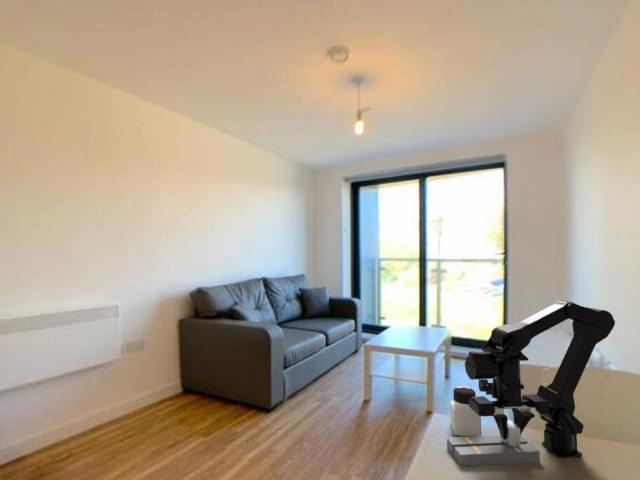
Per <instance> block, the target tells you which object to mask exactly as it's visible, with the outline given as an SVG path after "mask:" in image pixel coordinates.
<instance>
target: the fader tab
mask: <svg viewBox="0 0 640 480" xmlns="http://www.w3.org/2000/svg"><path fill="white" fill-rule="evenodd" d="M499 436H500V438H501V439H502V440H503V441H504V445H508V446H521V439H520V428H519V427H518V426H517V425H516V424H514V421H512V420H507V436H506V440H504V439H503V438H502V436H501V434H500V433H499Z"/></svg>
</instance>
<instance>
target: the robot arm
mask: <svg viewBox="0 0 640 480" xmlns="http://www.w3.org/2000/svg"><path fill="white" fill-rule="evenodd" d="M568 319H569V320H571V321H572V323H571V324H572V325H571V326H572V332H573V336H572V339H571V341H570V343H569V345H568V348H567V350H566V352H565V353H564V356H563V358H562V360H561V363H560V364H559V367H558V368H557V371H556V373H555V375H554V377H553V380H552V382H551V383H550V384H548V385H546V386H544V385H543V384H540V385H539V386H538V388H537V389H538V390H537V392H536V394H535V393H534V394H523V395H522V390H525V384H523V383H522V382H521V381H522V380H521V379H522V378H521V361H522V362H525V361H529V358H528V357H527V356H526V355H525V354H524V353H523V352H522V351H523V350H524V349H525V348H527V347H528V346H529V345H530V343H531V340H533V339H534V338H535V337H536V336H538V335H541V334H542V333H544V332H546V331H548V330H550V329H552V328H554V327H556V326H557V325H559V324H561V323H563V322H566V321H567V320H568ZM615 324H616V320H615V318H614V316H613V315H612V313H611V312H609V311H608V310H605V309H599V308H594V307H588V306H582V305H580V304H578V303H574V302H572V301H568V300H562V299H561V300H557V301H555V302H554V303H553V304H551V305H550V306H547V307H545V308H543V309H542V310H540V311H538V312H535V314H532V315H530V316H529V317H527V318H524V319H523V320H520V321H517V322H513V323H512V322H511V323H506V324H503V325H499V326H496V327H494V328H493V329H492V330H491V334H490V337H489V338H488V340H487V341H486V343H484V346H483V347H482V349H481V351H468V356H467V357H466V359H465V362H464V369H465V372H466V374H467V377H468V378H469V379H470V380H473V381H474V380H478V390H479V392H483V393H485V394H486V396H490V395H491V398H493V399H496V400H490V399H488V398H487V397H485V396H481V395H480V396H476V397H471V398H470V400H469V407H470V408H471V409H472V410H473V411H475V412H476V413H477V414H478V415H479V416H481V417H493V419H494V421H495V423H496V425H497V429H498V430H499V435H500V434H501V436H502V438H503V439H504V440H506V436H507V421H508V415H506V414H504V413H505V412H504V410H507V409H509V410H510V409H511V411H512V413H513V423H514V424H516V425H517V426H518V427H519V428H520V435H521V436H522V434H523V432H524V429H526V427H527V425H528V424H529V423H530V421H531V420H532V419H533V418H535V414H534V413H532V409H533V408H534V409H535V411H536V412H537V414H538V415H539V417H540V419H541V420H542V421H545V423H544V426H545V427H544V429H543V437H544V438H543V440H544V441H541V445H542V446H543V447H545V448H546V449H548V450H549V451H550V452H551V453H553V454H554V455H555V456H556V457H559V458H566V457H567V458H568V457H572V458H573V457H582V456H583V453H582V452H581V451H579V450H578V438H577V437H578V434H580V435H581V434H582V433H583V430H584V424H583V423H582V422H581V421H580V420H579V419H578V418H577V417H576V416H574V413H575V410H576V405H575V404H576V402H575V397H574V393H575V391H576V388H577V387H578V384H579V382H580V381H581V378H582V375H583V374H584V371H585V369H586V366H587V365H588V362H589V360H590V358H591V356H592V354H593V352H594V350H595V348H596V345H597V344H598V343H600V342H602V341H604V340H605V339H606V338H607V337H609V335H610V334H611V332H612V331H613V329H614V327H615ZM499 349H500V350H499ZM488 380H492V382H489V381H488Z"/></svg>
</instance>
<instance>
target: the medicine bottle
mask: <svg viewBox="0 0 640 480" xmlns="http://www.w3.org/2000/svg"><path fill="white" fill-rule="evenodd" d="M452 392H453V400H452V399H451V400H450V401H449V402H450V404H449V406H450V409H449V410H450V413H449V414H450V425H451V428H452V431H453V434H454V436H458V435H459V437H477V436H482V419H481V417H482V416H479V415H478V414H477V413H476V412H475V411H473V410H472V409H471V408H470V407H469V400H470V398H471V397H477V396H476V391H475V389H472V388H470V387H468V386H456V387H455V388H453V391H452Z"/></svg>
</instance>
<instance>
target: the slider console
mask: <svg viewBox="0 0 640 480" xmlns="http://www.w3.org/2000/svg"><path fill="white" fill-rule="evenodd" d="M520 439H521V446H508V445H504V441H503V440H502V439H501V438H500V435H481V436H477V437H470V436H459V437H447V438H446V447H447V449H448V451H449V452H450V454H451V455H452V456H453V458H454V459H455V460H456V461H457V463H458V464H459V465H460V466H461V467H463V466H479V465H481V466H482V465H484V466H485V465H501V464H502V465H504V464H505V465H506V464H524V463H540V461H541V460H540V459H541V458H540V456H541V455H540V450H539V449H538V448H536V446H534V445H532V444H531V443H529V442H528V440H527V439H525V438H524V437H523V436H522V434H521V435H520Z"/></svg>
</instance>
